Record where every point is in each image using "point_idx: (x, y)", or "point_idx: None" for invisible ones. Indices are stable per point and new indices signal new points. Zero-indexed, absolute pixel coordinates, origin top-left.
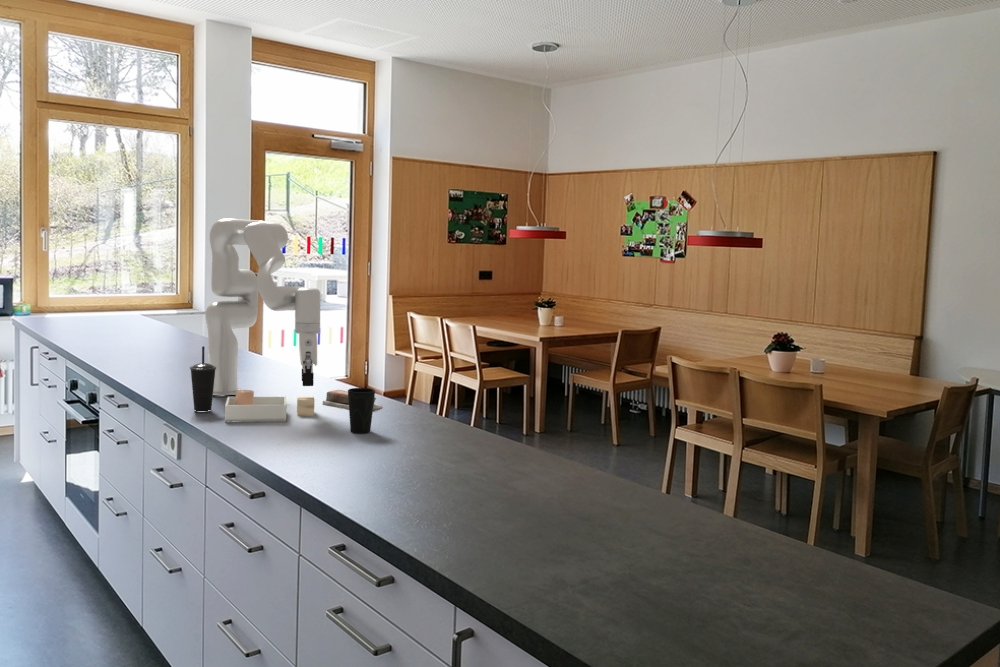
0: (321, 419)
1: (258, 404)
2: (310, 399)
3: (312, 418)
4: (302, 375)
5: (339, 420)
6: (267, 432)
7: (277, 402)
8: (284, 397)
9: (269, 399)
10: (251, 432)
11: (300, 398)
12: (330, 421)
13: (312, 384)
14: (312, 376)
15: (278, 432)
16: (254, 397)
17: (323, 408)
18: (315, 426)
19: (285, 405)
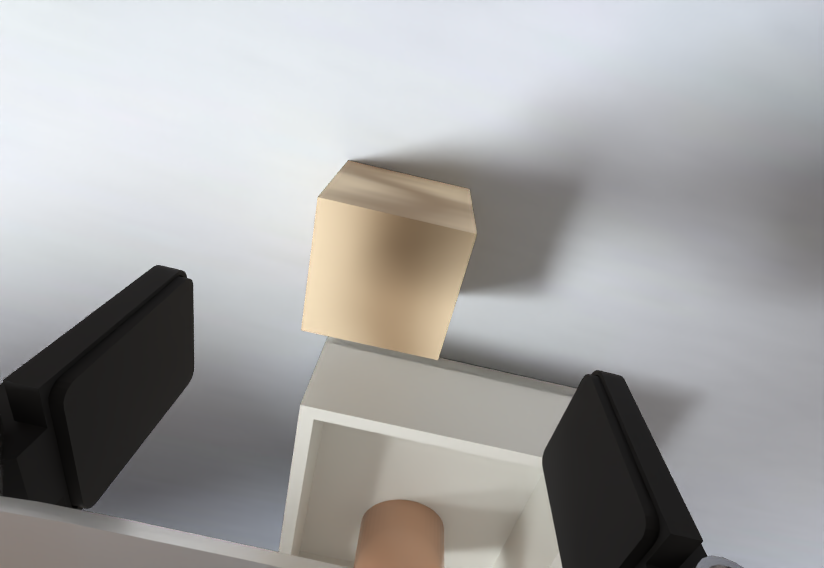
0: (629, 177)
1: (307, 492)
2: (454, 264)
3: (566, 229)
4: (154, 426)
5: (745, 40)
6: (774, 509)
7: (318, 422)
8: (334, 421)
9: (306, 475)
10: (728, 552)
11: (383, 327)
12: (734, 131)
13: (622, 392)
14: (665, 490)
15: (811, 475)
16: (291, 546)
17: (216, 31)
18: (815, 279)
19: None
